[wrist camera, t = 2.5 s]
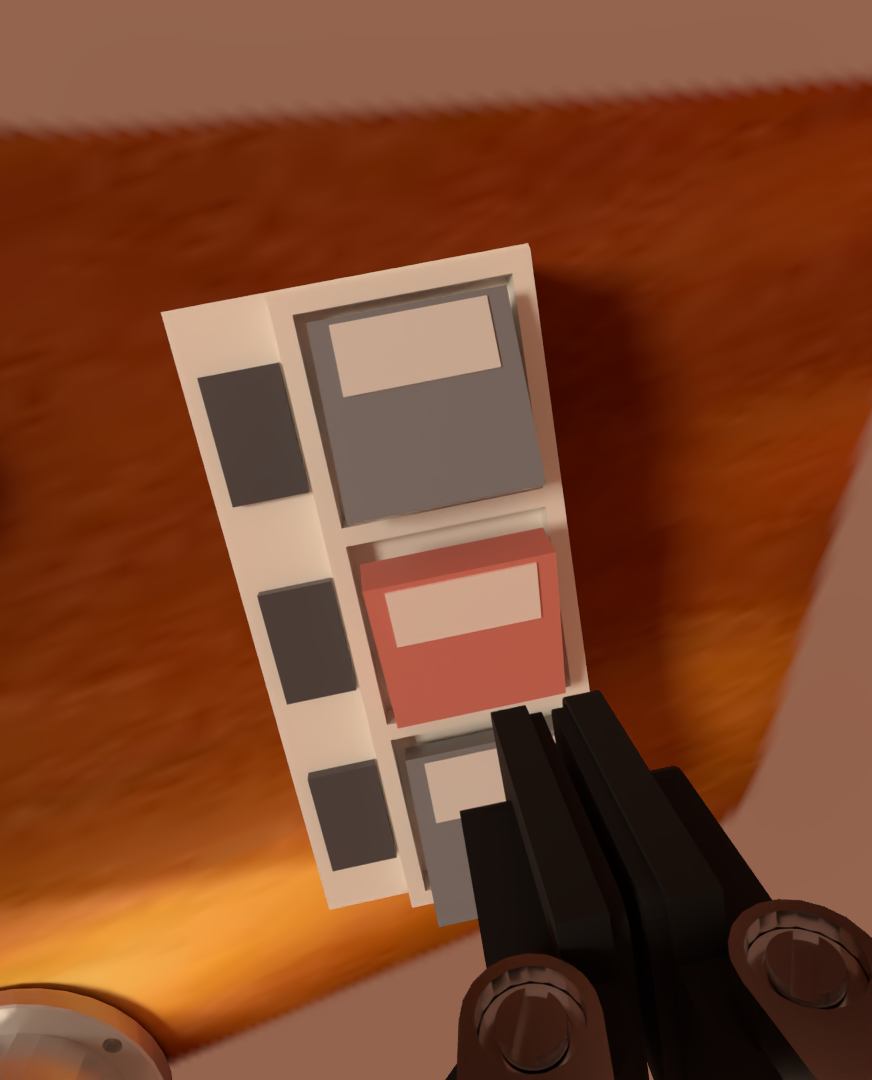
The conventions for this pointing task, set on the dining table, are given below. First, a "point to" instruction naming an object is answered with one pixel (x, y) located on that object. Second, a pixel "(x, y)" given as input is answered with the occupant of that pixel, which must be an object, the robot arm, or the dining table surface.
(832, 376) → the dining table surface
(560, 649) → the rocker mid
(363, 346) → the plate
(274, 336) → the rocker switch panel
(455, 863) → the rocker
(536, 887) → the robot arm
